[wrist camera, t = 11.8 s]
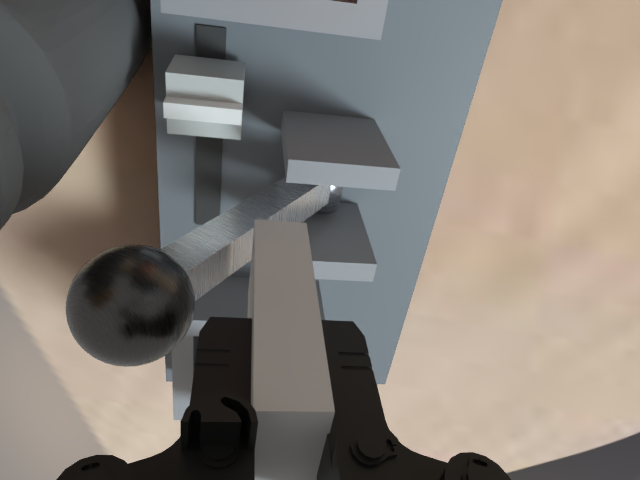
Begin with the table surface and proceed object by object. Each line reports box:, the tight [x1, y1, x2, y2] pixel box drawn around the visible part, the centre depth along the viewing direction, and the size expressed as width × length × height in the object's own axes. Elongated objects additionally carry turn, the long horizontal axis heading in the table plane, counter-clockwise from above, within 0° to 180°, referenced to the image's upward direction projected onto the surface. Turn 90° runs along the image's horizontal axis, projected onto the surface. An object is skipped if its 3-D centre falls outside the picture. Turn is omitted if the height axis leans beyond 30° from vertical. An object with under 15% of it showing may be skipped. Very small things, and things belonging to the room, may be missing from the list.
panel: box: [150, 0, 503, 420], centre depth 20 cm, size 25×12×7 cm, turn 172°
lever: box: [66, 178, 343, 366], centre depth 16 cm, size 3×3×12 cm
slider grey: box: [163, 54, 245, 140], centre depth 17 cm, size 2×2×3 cm
